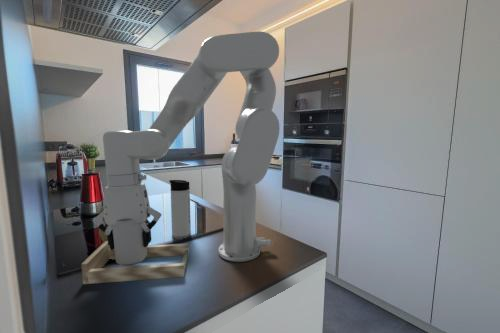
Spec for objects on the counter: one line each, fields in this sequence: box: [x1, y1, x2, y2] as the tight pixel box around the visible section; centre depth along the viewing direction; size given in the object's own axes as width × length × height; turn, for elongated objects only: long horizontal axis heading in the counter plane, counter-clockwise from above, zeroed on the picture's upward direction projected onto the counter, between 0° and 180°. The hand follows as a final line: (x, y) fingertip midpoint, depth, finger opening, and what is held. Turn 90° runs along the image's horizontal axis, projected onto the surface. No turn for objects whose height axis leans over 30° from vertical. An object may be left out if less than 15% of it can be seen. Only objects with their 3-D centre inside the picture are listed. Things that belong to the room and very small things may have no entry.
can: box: [112, 219, 147, 267], centre depth 63 cm, size 8×8×12 cm
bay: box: [80, 241, 190, 285], centre depth 64 cm, size 23×12×5 cm, turn 98°
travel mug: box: [168, 179, 192, 240], centre depth 83 cm, size 6×7×20 cm
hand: (130, 245), depth 64 cm, fingers closed on can, 7 cm apart
